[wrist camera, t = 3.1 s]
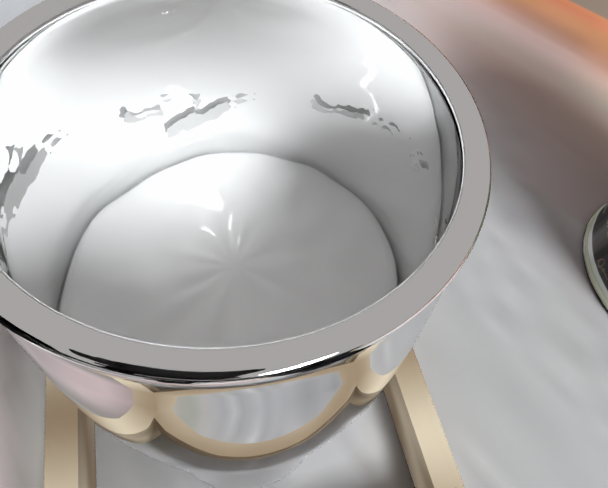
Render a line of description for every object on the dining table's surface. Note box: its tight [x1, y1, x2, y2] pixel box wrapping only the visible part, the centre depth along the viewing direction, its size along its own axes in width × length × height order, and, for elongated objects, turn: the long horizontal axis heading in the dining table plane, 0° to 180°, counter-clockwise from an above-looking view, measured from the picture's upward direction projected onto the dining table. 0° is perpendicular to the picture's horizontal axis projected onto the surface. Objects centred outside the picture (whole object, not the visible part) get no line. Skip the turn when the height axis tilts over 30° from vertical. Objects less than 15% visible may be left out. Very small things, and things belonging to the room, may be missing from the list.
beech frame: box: [44, 347, 465, 488], centre depth 18 cm, size 13×13×2 cm
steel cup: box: [0, 0, 492, 488], centre depth 12 cm, size 7×7×15 cm
